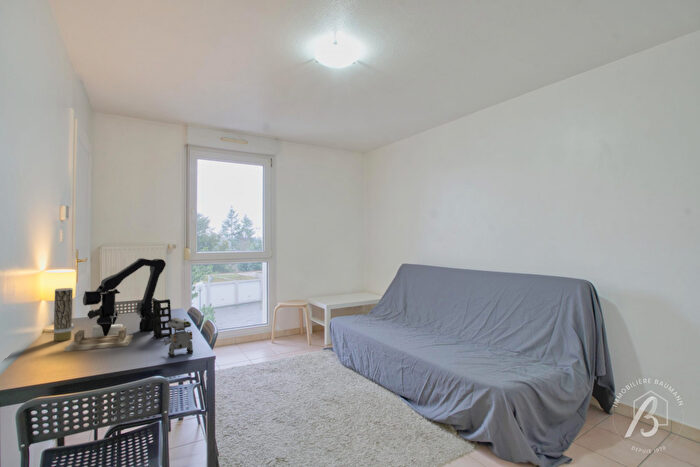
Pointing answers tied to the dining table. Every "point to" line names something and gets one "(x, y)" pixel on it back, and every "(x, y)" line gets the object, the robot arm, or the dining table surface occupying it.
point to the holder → (157, 318)
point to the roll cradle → (99, 341)
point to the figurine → (179, 336)
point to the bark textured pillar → (63, 314)
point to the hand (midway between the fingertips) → (107, 333)
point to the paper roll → (113, 330)
